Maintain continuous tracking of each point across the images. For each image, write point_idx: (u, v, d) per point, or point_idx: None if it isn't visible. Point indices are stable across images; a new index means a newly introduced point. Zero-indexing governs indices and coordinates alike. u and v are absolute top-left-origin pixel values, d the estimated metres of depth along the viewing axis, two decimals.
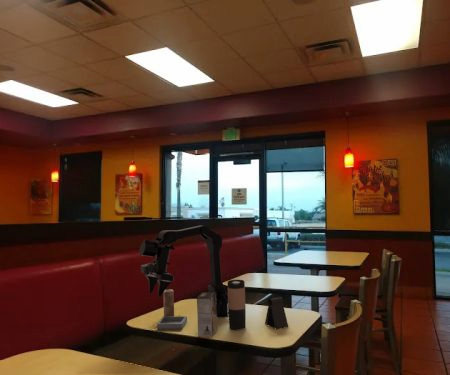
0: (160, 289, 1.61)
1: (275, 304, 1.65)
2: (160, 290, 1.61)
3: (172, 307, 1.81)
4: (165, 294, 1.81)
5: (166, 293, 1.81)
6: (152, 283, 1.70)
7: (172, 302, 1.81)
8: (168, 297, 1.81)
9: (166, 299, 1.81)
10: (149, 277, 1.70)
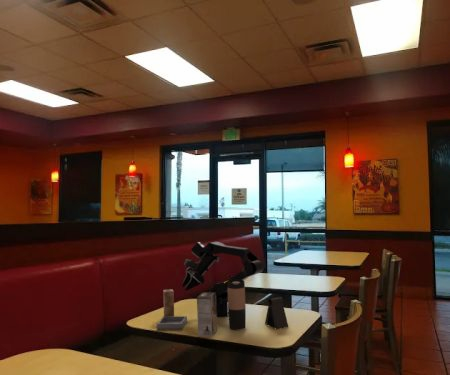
0: (189, 284, 1.81)
1: (275, 304, 1.65)
2: (188, 285, 1.81)
3: (172, 307, 1.81)
4: (165, 294, 1.81)
5: (166, 293, 1.81)
6: (187, 280, 1.91)
7: (172, 302, 1.81)
8: (168, 297, 1.81)
9: (166, 299, 1.81)
10: (188, 273, 1.91)
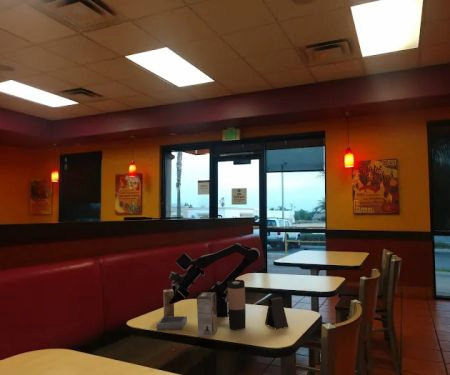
0: (174, 298, 1.78)
1: (275, 304, 1.65)
2: (173, 299, 1.78)
3: (172, 307, 1.81)
4: (165, 294, 1.81)
5: (166, 293, 1.81)
6: None
7: None
8: (168, 297, 1.81)
9: (166, 299, 1.81)
10: (173, 286, 1.89)
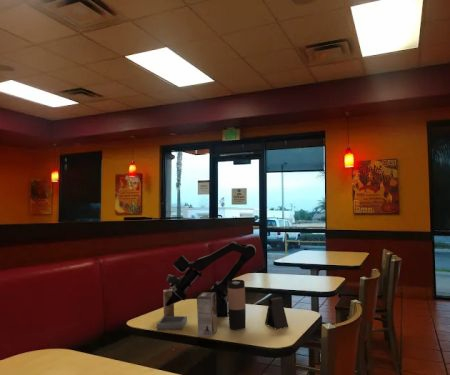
0: (170, 299, 1.80)
1: (275, 304, 1.65)
2: (169, 301, 1.80)
3: (172, 307, 1.81)
4: (165, 294, 1.81)
5: (166, 293, 1.81)
6: None
7: None
8: (168, 297, 1.81)
9: (166, 299, 1.81)
10: None
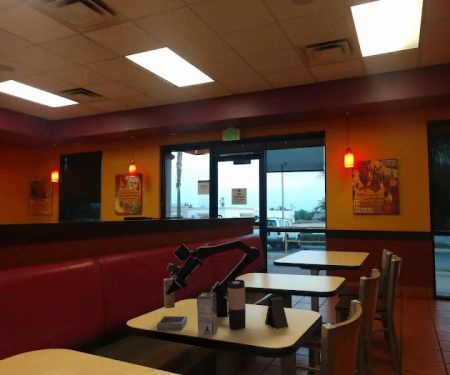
0: (171, 288, 1.78)
1: (275, 304, 1.65)
2: (170, 289, 1.78)
3: (172, 296, 1.79)
4: (165, 283, 1.79)
5: (166, 282, 1.79)
6: None
7: None
8: (168, 286, 1.79)
9: (166, 288, 1.79)
10: (172, 279, 1.85)
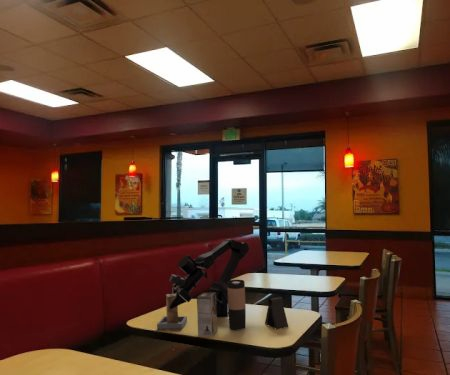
0: (174, 302, 1.67)
1: (275, 304, 1.65)
2: (173, 303, 1.67)
3: (176, 313, 1.69)
4: (168, 299, 1.69)
5: (169, 298, 1.69)
6: None
7: (176, 307, 1.70)
8: (171, 302, 1.69)
9: (169, 304, 1.69)
10: (174, 290, 1.76)
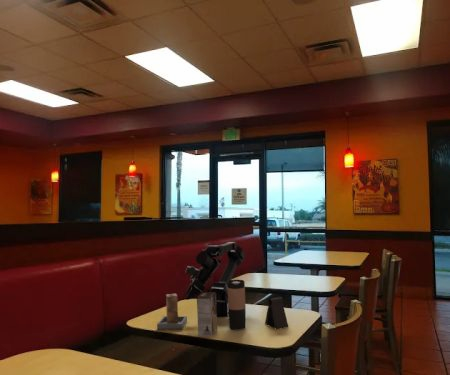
0: (190, 293, 1.70)
1: (275, 304, 1.65)
2: (189, 294, 1.70)
3: (176, 313, 1.69)
4: (168, 299, 1.69)
5: (169, 298, 1.69)
6: (191, 288, 1.80)
7: (176, 307, 1.70)
8: (171, 302, 1.69)
9: (169, 304, 1.69)
10: (191, 281, 1.81)
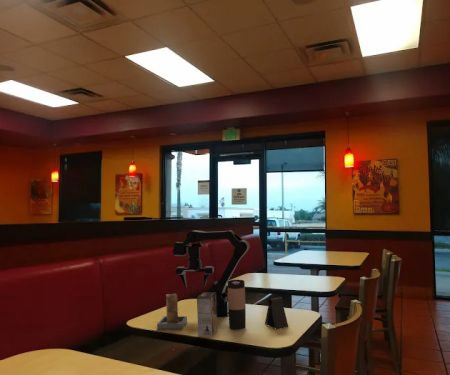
0: None
1: (275, 304, 1.65)
2: None
3: (176, 313, 1.69)
4: (168, 299, 1.69)
5: (169, 298, 1.69)
6: None
7: (176, 307, 1.70)
8: (171, 302, 1.69)
9: (169, 304, 1.69)
10: None
